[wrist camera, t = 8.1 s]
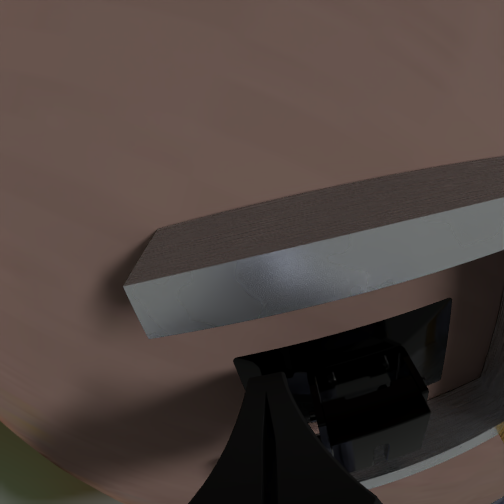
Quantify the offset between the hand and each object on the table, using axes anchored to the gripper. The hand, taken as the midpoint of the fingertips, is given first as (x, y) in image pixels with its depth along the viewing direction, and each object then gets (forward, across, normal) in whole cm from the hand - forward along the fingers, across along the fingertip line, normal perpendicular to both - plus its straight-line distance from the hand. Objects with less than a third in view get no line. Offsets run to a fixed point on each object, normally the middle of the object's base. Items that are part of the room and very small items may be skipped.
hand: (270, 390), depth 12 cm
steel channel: (+1, -5, 0) cm, 5 cm away
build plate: (+2, -4, +1) cm, 4 cm away
